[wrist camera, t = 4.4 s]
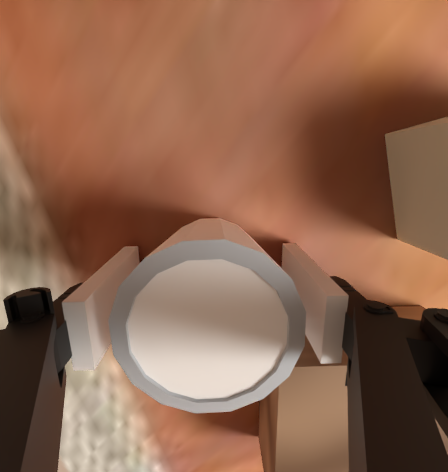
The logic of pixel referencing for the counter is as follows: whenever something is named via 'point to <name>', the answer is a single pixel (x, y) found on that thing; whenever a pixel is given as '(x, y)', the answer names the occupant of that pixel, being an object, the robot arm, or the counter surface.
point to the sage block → (420, 184)
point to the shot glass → (207, 320)
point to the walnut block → (312, 415)
